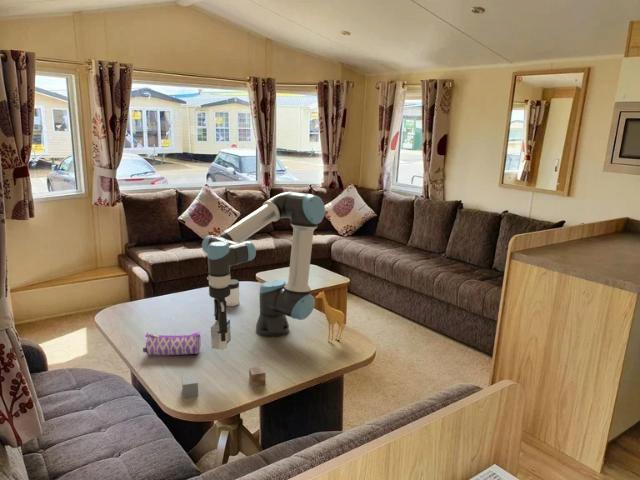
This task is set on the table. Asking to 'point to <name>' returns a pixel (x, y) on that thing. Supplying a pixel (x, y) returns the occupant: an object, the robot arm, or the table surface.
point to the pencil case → (172, 344)
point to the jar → (233, 293)
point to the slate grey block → (190, 386)
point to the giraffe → (332, 315)
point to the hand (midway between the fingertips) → (221, 342)
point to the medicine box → (216, 335)
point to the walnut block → (257, 376)
